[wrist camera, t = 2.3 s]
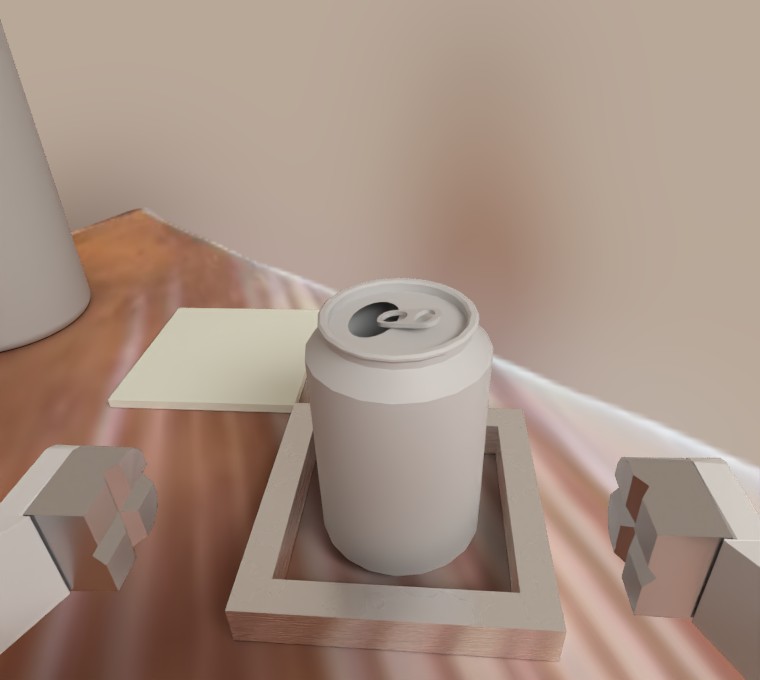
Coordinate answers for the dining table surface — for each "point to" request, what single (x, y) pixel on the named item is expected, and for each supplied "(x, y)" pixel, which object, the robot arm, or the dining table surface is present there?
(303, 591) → the square picture frame
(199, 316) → the tile
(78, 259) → the cylinder vase
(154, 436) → the dining table surface
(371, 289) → the can
